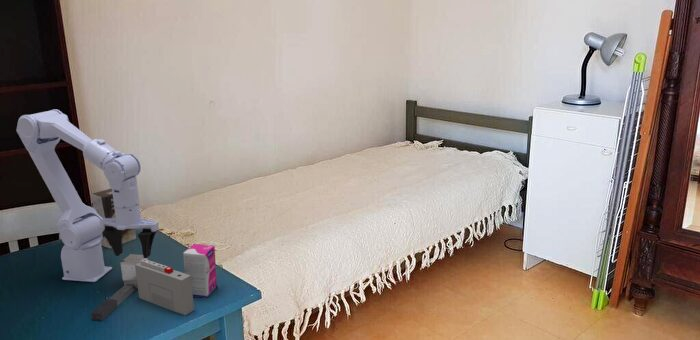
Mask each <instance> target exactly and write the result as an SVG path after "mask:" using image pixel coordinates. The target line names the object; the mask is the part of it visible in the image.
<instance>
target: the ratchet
mask: <svg viewBox="0 0 700 340" xmlns="http://www.w3.org/2000/svg"><path fill="white" fill-rule="evenodd" d="M135 291H138V285H137V282H136V281H123V286H122V287H120V289H118V290H117V291H116V292H114V294H113V295H112V296H110V297H109V298H106V299H104V300H103V301H102V302H101V303H100V304H99V305H98V306H96V307H95V308H94V309H93V310H92V311H91V312H90V314H91V315H90V316H91V320H92V321H101V322H102V321H104V320H105V319H106V318H108V317H109V315H110V314H112V313H113V312H114V311H115V310H116V309H117V308H118V306H119V305H121V304H122V303H123V302H124V301H125V300H126V299H127V298H128V297H129V296H130V295H131V294H133V293H134V292H135Z"/></svg>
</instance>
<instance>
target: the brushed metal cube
mask: <svg viewBox="0 0 700 340" xmlns="http://www.w3.org/2000/svg"><path fill="white" fill-rule="evenodd" d="M143 259H146V260H149V258H148V257H147V258H144V257H143V254H134V253H133V254H132V253H130V254H129V255H127V256H126V257H125V258H123V259H122V260H121V261H120V262H119V264H120V269H121V277H122V281H123V282H124V281H136V282H137V277H136V270H135V265H136V264H138V263H140V262H141V260H143Z"/></svg>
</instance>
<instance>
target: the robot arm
mask: <svg viewBox="0 0 700 340" xmlns="http://www.w3.org/2000/svg"><path fill="white" fill-rule="evenodd" d="M15 130H16V133H17V135H18V136H19V138H20V140H21V142H22V144H23V145H24V147H25V149H26V151H28V153H29V156H30V158H31V159H32V161H33V163H34V165H35V166H36V169H37V170H38V172H39V175H40V176H41V178H42V180H43V181H44V183H45V185H46V187H47V188H48V191H49V193H50V194H51V196H52V198H53V200H54V202H55V204H56V205H57V208H58V209H59V211H60V212H61V216H60V218H59V220H58V221H57V223H56V227H57V229H58V230H59V234H60V239H61V241H62V243H63V244H64V245H63V246H62V248H61V252H60V259H61V267H62V271H63V277H62V278H61V279H62V280H64V281H75V282H77V281H78V282H87V283H88V282H89V283H95V282H97V281H99V280H100V279H101V278H102V277H104V276H105V275H106V274H107V273H108V272H110V271H111V270H113V266H105V261H104V252H103V248H102V245H101V240H102V239H103V237H102V235H103V236H104V237H105V238H106V239H107V240H108V242H109V243H110V245H111V247H112V248H111V249H112V251H113V253H114V255H115V256H116V257H119V256H121V254H122V253H123V250H124V249H123V244H122V230H125V229H135V230H139V231H140V232H139V233H138V234H137V237H138V238H139V241H140V245H141V249H142V255H143V257H144V258H147V259H148V257H150V256H151V254H152V253H151V251H152V248H153V247H152V246H153V242H154V239H155V236H156V235H157V232H158V230H159V229H160V225H159V221H158V220H151V219H150V220H149V219H146V218H143V217H142V215H141V206H140V198H139V188H138V187H139V186H138V179H137V176H138V175H139V174H140V172H141V168H142V167H141V162H140V160H139V158H137V156H135V155H134V154H133V153H131V152H130V153H124V152H121V151H119V150H117V149H115V147H113V146H111V145H109V144H108V143H107V141H106V140H105V139H102V138H101V139H100V138H95V139H92V138H90V136H88V135H87V134H86V133H84V132H83V131H82V130H80V129H79V128H78V127H77V126H75V125H74V124H73V123H71V122H70V120H69V117H68V115H67V114H65V113H63V112H62V110H61V111H60V109H55V108H54V109H53V108H52V109H51V110H48V111H47V110H46V111H42V112H41V111H40V112H37V113H33V114H32V113H31V114H23V115H21V116H20V117H18V121H17V126H16V129H15ZM61 140H62V141H64V142H66V143H68V144H70V145H72V146H73V147H75V148H77V149H78V150H81V151H82V155H83V158H84V159H86V160H87V161H88V162H90V163H91V164H93V165H95V166H96V167H97V168H98V169H100V170H102V171H103V174H104V176H105V178H106V179H107V181H108V185H109V187H110V188H111V189H112V193H113V200H114V208H115V216H116V218H104V219H103V218H102V217H101V216H99V215H98V214H97V212H96V210H95V209H94V208H93V206H89V205H86V204H84V203H83V201H82V199H81V197H80V196H79V194H78V191H77V190H76V188H75V186H74V184H73V183H72V180H71V178H70V177H69V175H68V172H67V171H66V170H65V168H64V166H63V164H62V162H61V160H60V159H59V157H58V155H57V153H56V150H55V149H56V146H57V144H59V143H60V141H61ZM78 219H79V220H78ZM76 220H77V221H76Z"/></svg>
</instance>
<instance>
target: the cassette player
mask: <svg viewBox="0 0 700 340" xmlns="http://www.w3.org/2000/svg"><path fill="white" fill-rule="evenodd" d="M135 270H136V277H137V285H138V290H137V292H138V298H139V299H140V300H144V301H146V302H148V303H151V304H154V305H157V306H159V307H162V308H164V309H167V310H169V311H173V312H176V313H177V314H181V315H182V316H188V314H190V313H192V312H193V311H195V305H194V296H193V294H192V284H191V275H188V274H185V272H182V271H177V270H175V269H174V268H173V267H170V266H167V265H165V264H161V263H159V262H155V261H151V260H149V259H148V260H146V259H143V260H141V262H140V263H138V264H136V265H135Z"/></svg>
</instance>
